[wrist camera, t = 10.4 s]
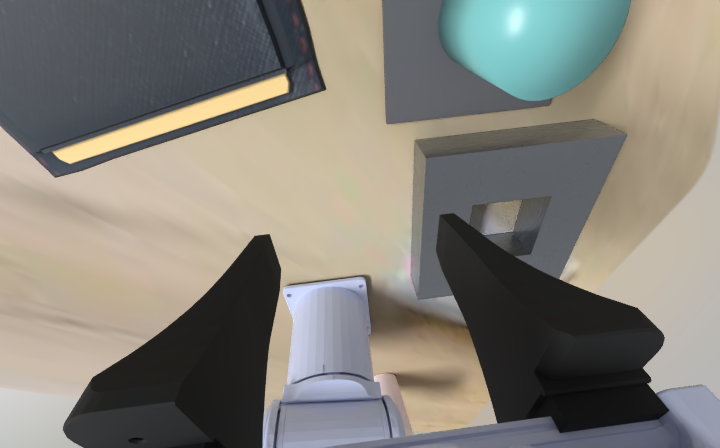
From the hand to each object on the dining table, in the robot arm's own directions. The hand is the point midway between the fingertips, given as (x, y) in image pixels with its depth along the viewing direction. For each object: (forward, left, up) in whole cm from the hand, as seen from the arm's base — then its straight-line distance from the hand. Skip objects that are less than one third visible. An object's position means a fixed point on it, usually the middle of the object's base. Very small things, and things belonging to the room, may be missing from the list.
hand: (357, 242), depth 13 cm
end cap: (+7, -9, -10) cm, 15 cm away
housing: (-7, -11, -10) cm, 17 cm away
